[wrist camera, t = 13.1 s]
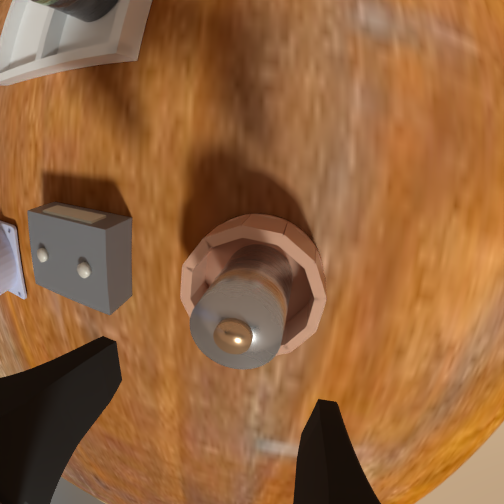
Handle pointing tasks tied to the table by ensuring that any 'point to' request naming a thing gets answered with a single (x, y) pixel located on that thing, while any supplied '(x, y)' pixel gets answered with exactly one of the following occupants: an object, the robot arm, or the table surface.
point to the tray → (67, 39)
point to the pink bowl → (276, 236)
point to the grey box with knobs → (82, 254)
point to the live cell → (81, 8)
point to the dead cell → (244, 309)
